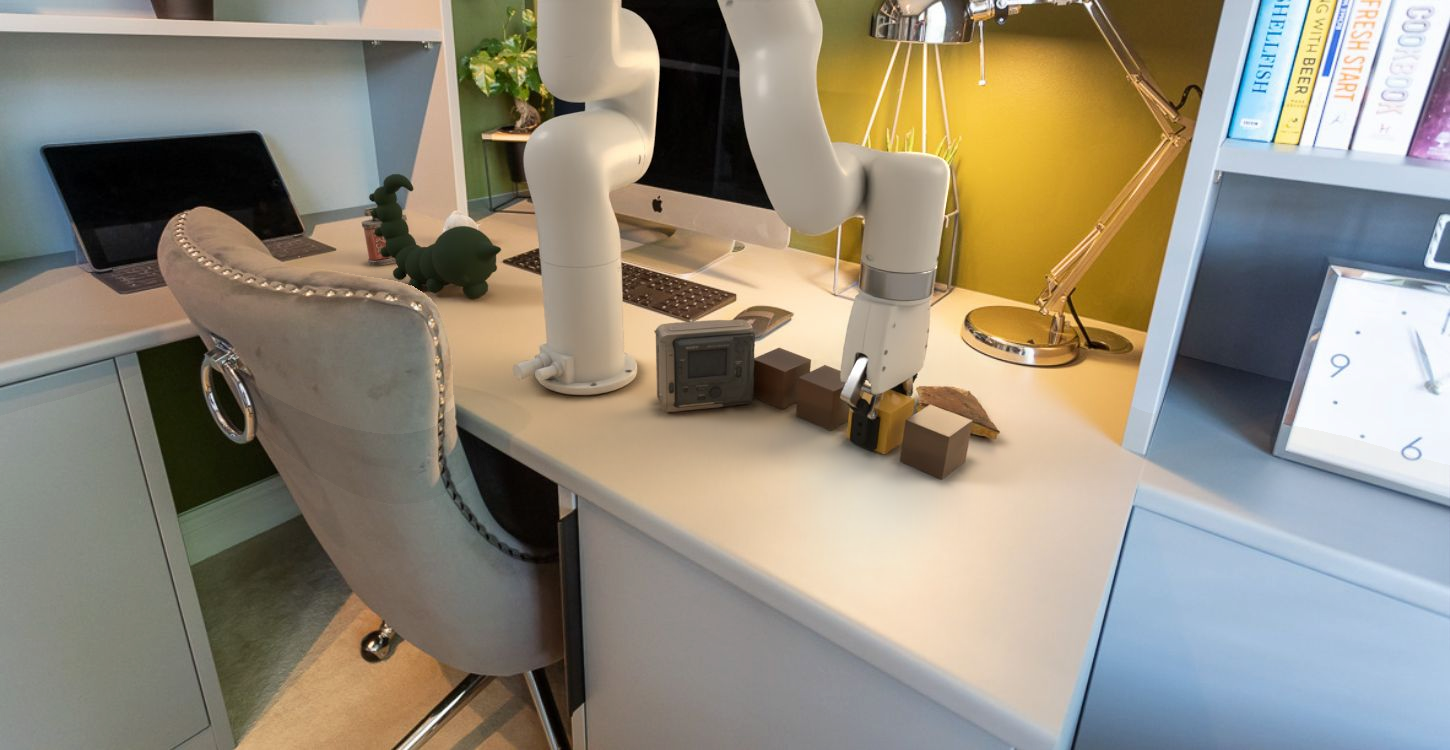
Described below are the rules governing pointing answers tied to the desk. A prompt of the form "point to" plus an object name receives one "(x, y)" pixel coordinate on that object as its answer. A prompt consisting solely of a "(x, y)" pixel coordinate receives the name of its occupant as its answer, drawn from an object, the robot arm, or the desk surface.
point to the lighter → (375, 240)
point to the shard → (958, 407)
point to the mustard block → (889, 419)
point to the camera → (704, 364)
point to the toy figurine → (433, 248)
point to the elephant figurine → (459, 221)
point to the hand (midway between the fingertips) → (877, 434)
